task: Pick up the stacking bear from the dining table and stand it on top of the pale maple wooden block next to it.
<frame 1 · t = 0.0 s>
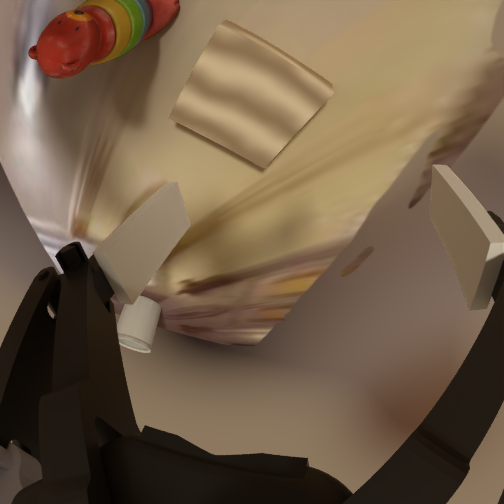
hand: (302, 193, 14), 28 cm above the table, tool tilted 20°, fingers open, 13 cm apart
utensil holder: (145, 302, 107), on the table
stacking bear: (136, 11, 27), on the table
maple block: (249, 91, 37), on the table
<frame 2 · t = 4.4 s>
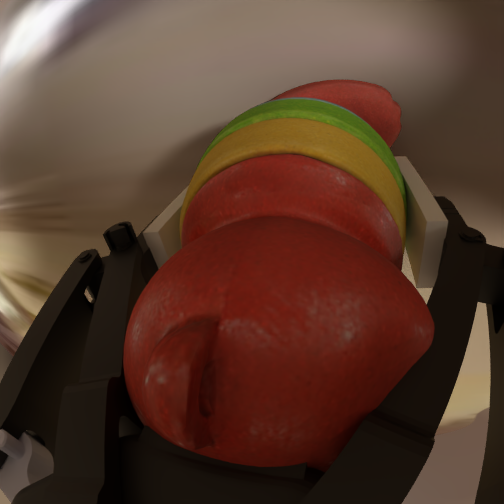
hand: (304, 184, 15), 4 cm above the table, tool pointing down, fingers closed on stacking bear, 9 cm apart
stacking bear: (316, 158, 18), on the table, touching gripper
when the fingers open (9 cm above the table, at t = 11.9 s): stacking bear drops 1 cm, resting on maple block.
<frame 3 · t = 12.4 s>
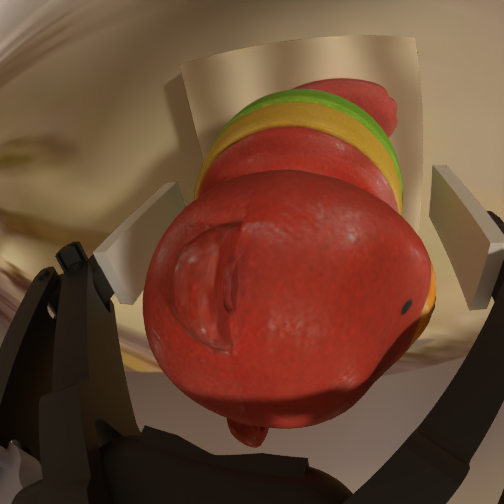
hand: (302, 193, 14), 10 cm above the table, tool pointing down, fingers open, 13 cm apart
stacking bear: (319, 152, 19), point 3 cm above the table, touching maple block
maple block: (313, 139, 23), on the table, touching stacking bear
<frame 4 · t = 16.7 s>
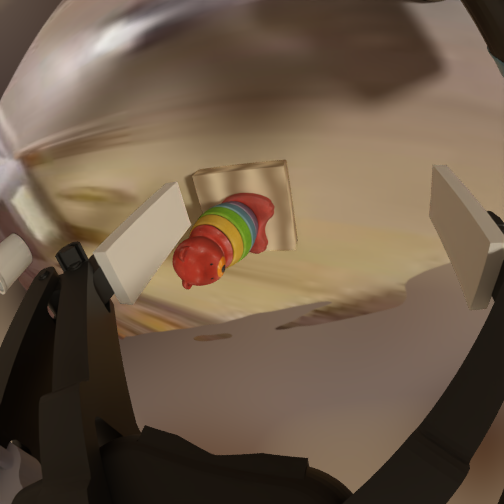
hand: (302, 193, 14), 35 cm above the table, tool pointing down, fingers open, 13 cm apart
utensil holder: (21, 248, 86), on the table
stacking bear: (245, 218, 52), point 4 cm above the table, touching maple block
maple block: (250, 203, 56), on the table, touching stacking bear
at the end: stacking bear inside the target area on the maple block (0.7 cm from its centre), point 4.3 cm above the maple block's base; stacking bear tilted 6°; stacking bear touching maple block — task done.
